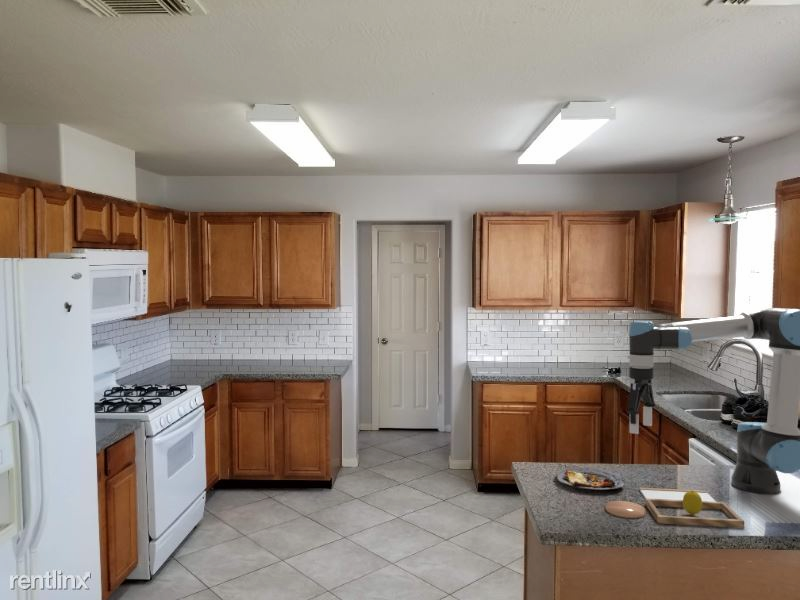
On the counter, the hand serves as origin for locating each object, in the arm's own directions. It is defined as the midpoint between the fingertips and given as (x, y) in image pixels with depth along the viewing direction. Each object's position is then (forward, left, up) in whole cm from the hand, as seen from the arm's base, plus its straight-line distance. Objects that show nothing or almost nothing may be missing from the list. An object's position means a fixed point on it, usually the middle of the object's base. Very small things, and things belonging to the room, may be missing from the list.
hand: (640, 429), depth 199 cm
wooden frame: (-13, +12, -24) cm, 30 cm away
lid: (-13, -2, -24) cm, 27 cm away
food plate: (+14, -15, -24) cm, 32 cm away
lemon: (-13, +12, -24) cm, 30 cm away
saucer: (+7, +11, -24) cm, 27 cm away
